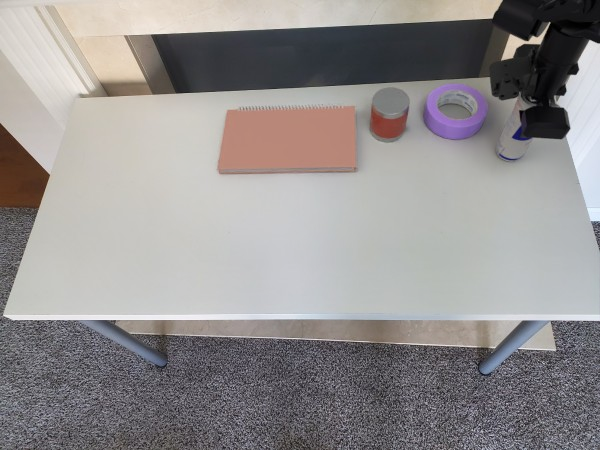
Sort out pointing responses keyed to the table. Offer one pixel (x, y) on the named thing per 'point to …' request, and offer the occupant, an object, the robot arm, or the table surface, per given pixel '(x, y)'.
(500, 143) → the beverage can
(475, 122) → the tape roll
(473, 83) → the table surface
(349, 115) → the notebook
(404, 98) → the food tin
